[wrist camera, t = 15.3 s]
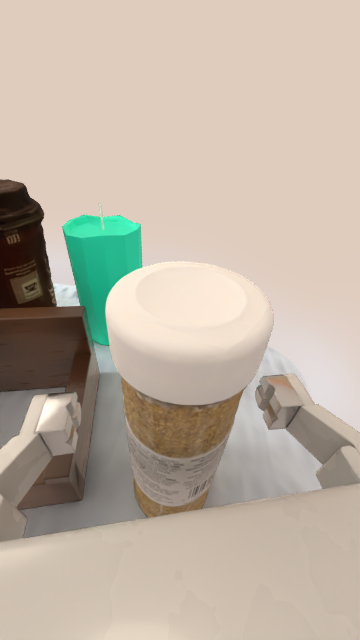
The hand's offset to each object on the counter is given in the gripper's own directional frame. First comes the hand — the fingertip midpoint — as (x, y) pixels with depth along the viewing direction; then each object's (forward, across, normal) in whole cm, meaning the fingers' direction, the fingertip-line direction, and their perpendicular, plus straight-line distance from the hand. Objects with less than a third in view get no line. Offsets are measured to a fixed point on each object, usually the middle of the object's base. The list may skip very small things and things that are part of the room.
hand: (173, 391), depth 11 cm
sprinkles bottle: (-1, 0, +8) cm, 8 cm away
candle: (+14, +4, +8) cm, 17 cm away
